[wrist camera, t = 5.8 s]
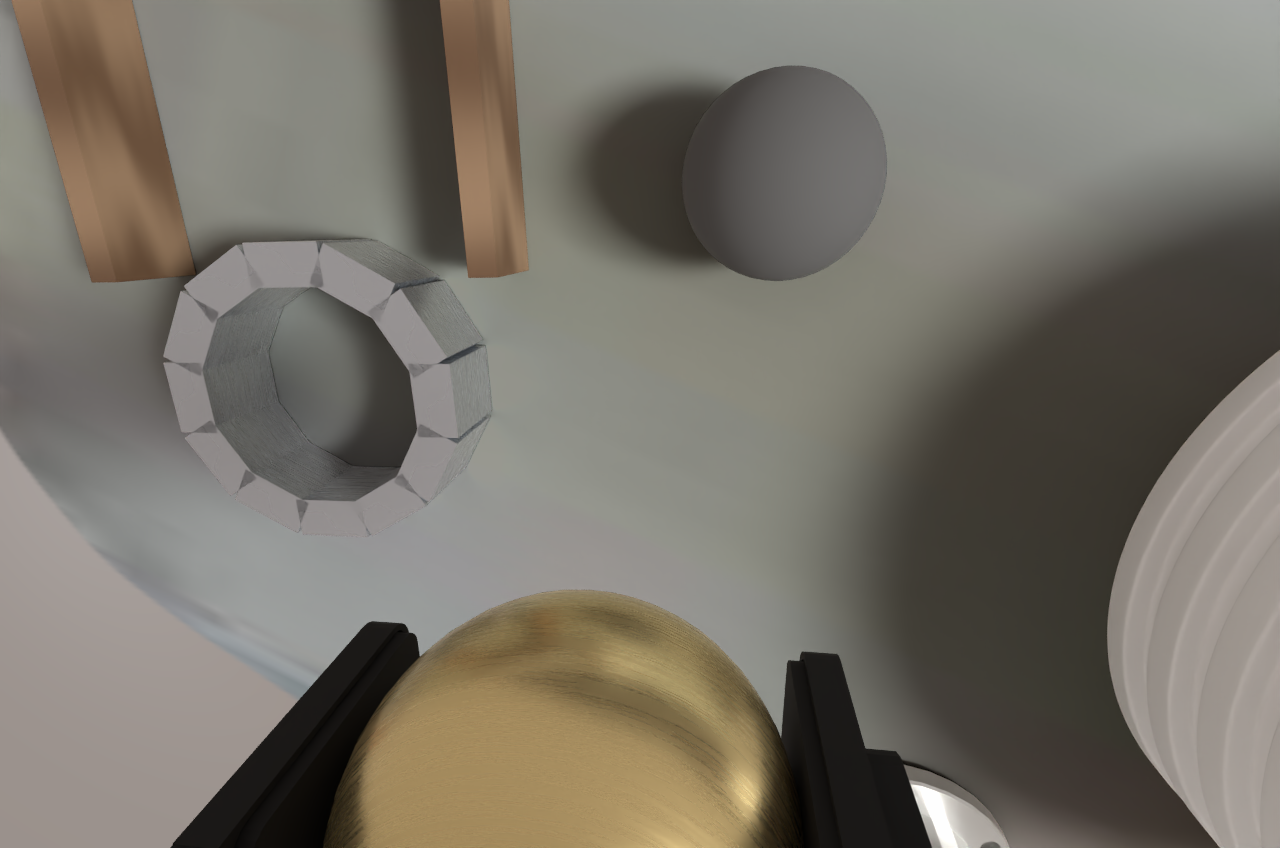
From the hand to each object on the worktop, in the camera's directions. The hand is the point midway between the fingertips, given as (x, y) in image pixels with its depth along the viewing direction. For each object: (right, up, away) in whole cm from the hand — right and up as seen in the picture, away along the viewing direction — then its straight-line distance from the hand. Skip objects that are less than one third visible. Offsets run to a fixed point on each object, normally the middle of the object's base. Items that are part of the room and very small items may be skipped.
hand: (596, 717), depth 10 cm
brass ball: (0, -1, -2) cm, 2 cm away
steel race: (-11, +7, +16) cm, 20 cm away
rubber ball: (+5, +12, +9) cm, 16 cm away
